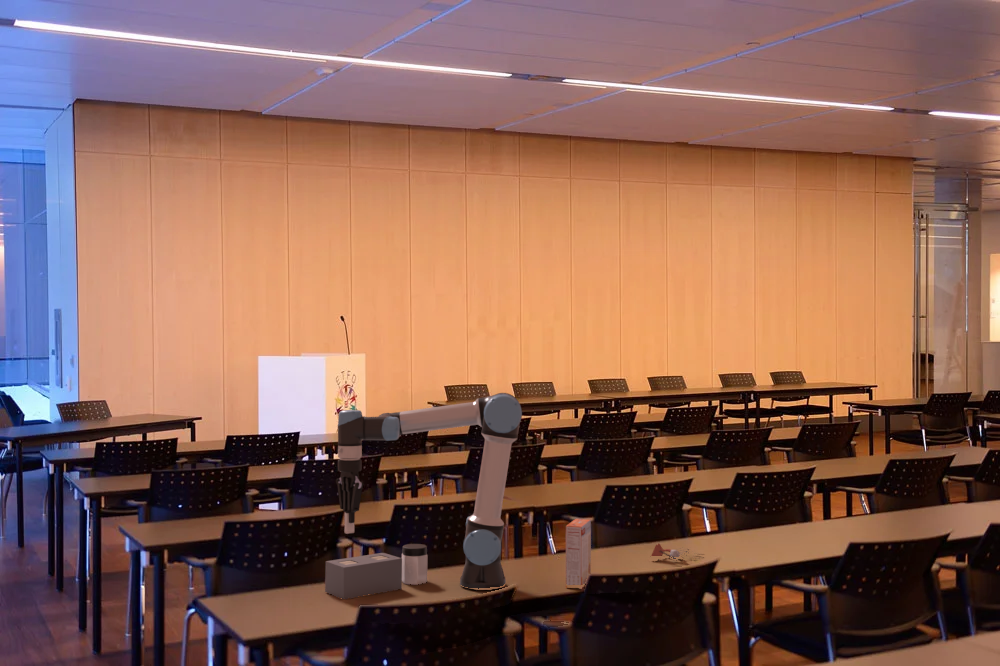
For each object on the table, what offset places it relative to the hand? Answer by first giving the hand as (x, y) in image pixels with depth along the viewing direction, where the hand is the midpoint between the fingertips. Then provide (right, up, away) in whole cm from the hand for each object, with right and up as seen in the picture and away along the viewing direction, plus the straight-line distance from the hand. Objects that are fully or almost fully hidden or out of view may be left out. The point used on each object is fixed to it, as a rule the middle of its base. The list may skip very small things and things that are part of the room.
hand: (349, 532), depth 323 cm
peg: (+9, -18, +8) cm, 21 cm away
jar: (+19, -20, +17) cm, 33 cm away
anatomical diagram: (+117, -22, +58) cm, 133 cm away
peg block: (+4, -20, +4) cm, 20 cm away
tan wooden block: (0, -18, 0) cm, 18 cm away
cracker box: (+74, -21, +17) cm, 79 cm away
